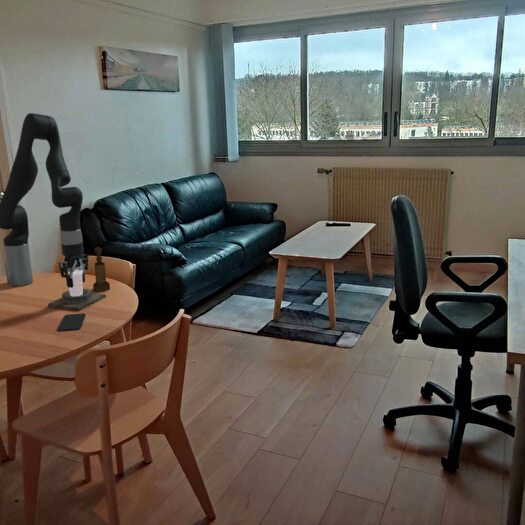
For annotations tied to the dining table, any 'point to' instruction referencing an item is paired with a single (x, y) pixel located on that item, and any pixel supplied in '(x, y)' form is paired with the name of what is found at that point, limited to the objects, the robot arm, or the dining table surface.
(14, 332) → the dining table surface
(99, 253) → the pepper mill
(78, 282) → the beverage cup
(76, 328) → the phone
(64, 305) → the ring holder
